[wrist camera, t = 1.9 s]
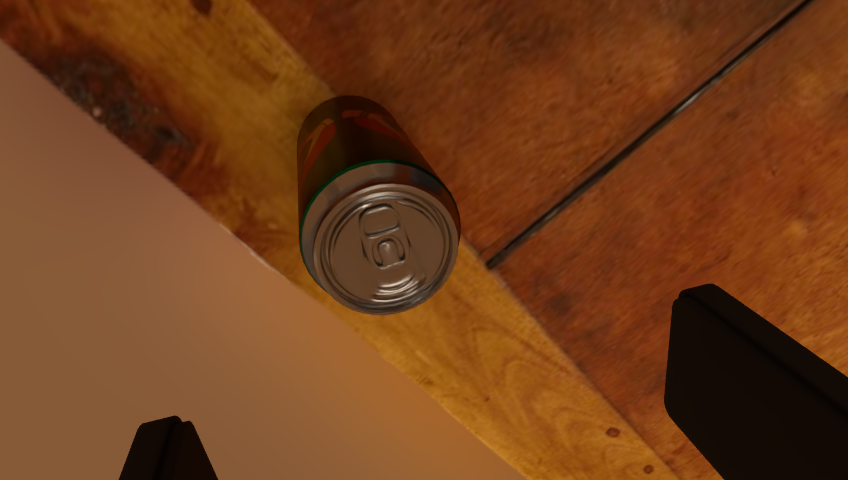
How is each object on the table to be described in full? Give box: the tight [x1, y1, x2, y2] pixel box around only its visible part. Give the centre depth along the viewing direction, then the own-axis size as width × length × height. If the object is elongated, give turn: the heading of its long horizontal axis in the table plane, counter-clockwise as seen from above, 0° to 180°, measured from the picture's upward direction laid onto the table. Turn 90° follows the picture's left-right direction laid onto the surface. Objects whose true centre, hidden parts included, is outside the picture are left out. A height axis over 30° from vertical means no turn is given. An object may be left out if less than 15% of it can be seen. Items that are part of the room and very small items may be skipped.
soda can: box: [297, 96, 461, 315], centre depth 21 cm, size 5×5×12 cm
